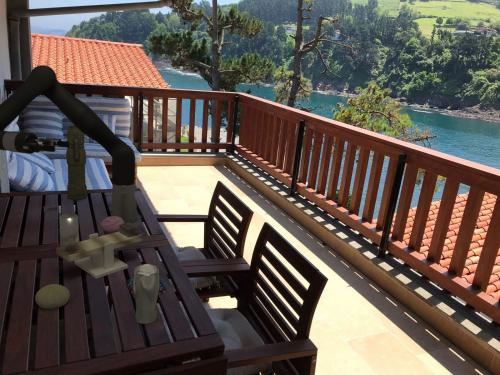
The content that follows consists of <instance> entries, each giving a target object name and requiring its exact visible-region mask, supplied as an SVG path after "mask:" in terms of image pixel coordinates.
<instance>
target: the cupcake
mask: <svg viewBox="0 0 500 375" xmlns="http://www.w3.org/2000/svg"><path fill="white" fill-rule="evenodd" d="M120 224H124V221H123V219H122V218H120V217H118V216H106V217H105V218H104V219H103V220H102V221H101V222H100V229H101V231H103V232H102V233H103V236H104V235H108V234H111V233H115V232H119V225H120Z"/></svg>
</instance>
